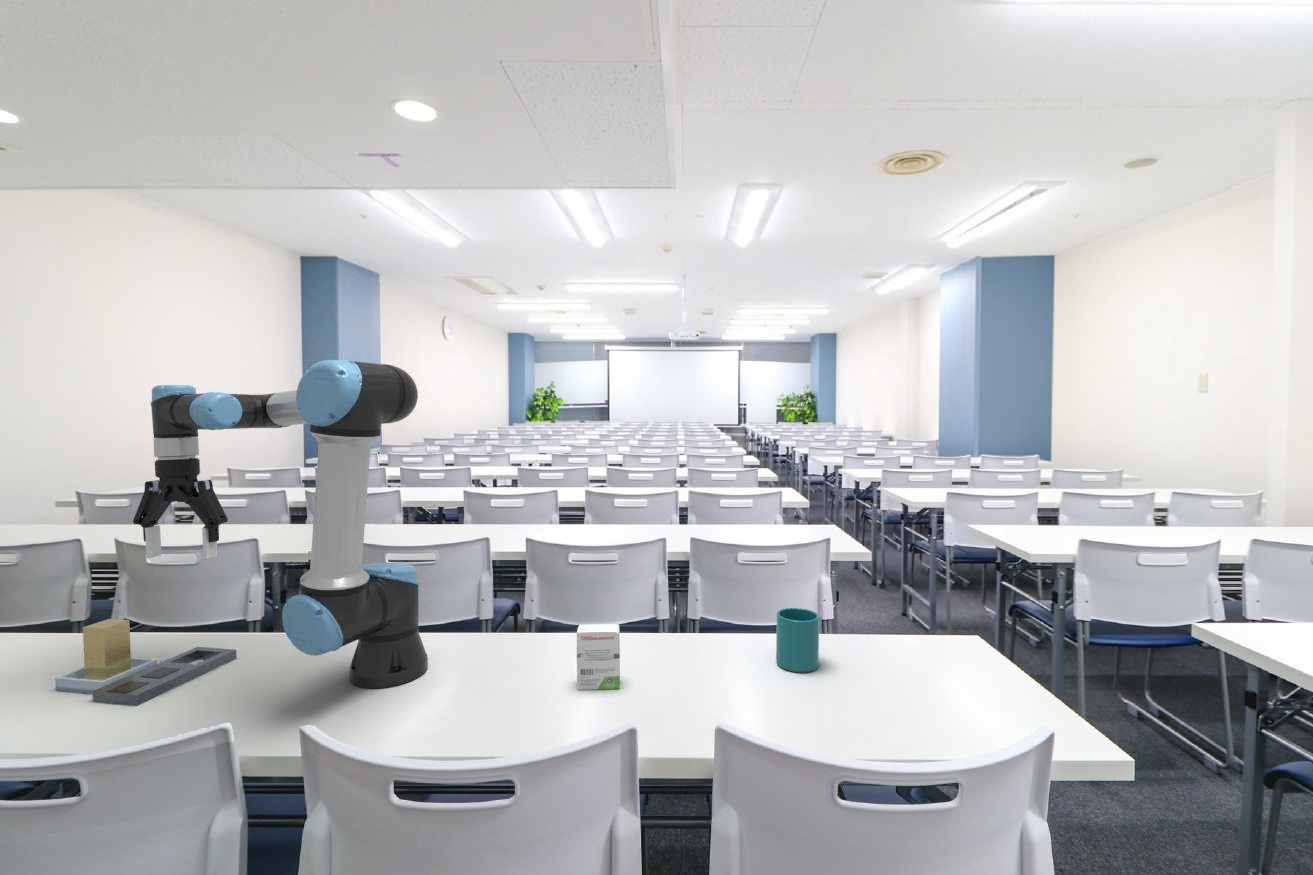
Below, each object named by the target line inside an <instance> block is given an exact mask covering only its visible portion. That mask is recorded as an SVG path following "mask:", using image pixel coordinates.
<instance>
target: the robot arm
mask: <svg viewBox="0 0 1313 875" xmlns="http://www.w3.org/2000/svg"><path fill="white" fill-rule="evenodd" d="M418 399H419V391H418V388H417V384H416V382H415V380H414V379H413V377H412V376H411V375H409V373H408V372H407V371H406V370H404V369H403V368H401V367H398V366H395V365H392V364H385V363H373V362H363V361H356V360H355V361H353V360H347V359H327V360H321V361H318V362H315V363H314V364H312V365H311V366H310V368H308V369H306V371H305V372H304V373H303V375H302V376H301V378H300V379H299V382H298V384H297V388H296V389H295V390H289V391H281V392H275V393H274V392H272V393H266V394H265V393H263V394H246V393H245V394H243V393H227V392H226V393H225V392H219V391H218V392H217V391H216V392H214V391H209V392H205V393H204V392H203V393H197V389H196V387H195V386H193V385H188V384H187V385H186V384H159V385H155V386H154V387H152V389H151V402H150V407H151V419H152V432H153V433H152V434H153V457H155V458H157V459H155V461H154V475H155V477H156V478H157V479H156V480H149V481H145V483H144V491H143V493H142V497H141V500H140V501H139V505H138V507H137V509H136V512H135V515H134V517H133V520H132V522H133V524H134V525H140V526H141V528H142V534H143V541H144V542H145V553H146V554H145V556H146V557H145V558H146V559H151V558H155V557H159V556H162V540H161V538H162V537H161V525H159V521H160V519H161V518H162V516H163V515H164V514H165V512H166V511H167V509H168V508H169V506H170V505H171V503H175V502H177V503H184V504H186V505H188V506H189V507H190V509H191V510H192V511H193V512H194V514H195V515H196V516H197V517H198V518H199V519H200V521H201V523H203V524H204V525H203V527H202V528H201V533H202V534H201V536H202V537H201V538H202V553H203V554H202V557H203V560H205V559H206V560H208V559H210V558H211V559H212V558H214V557H218V542H219V540H220V529H219V528H220V525H222V524H224V523H228V521H229V518H228V517H227V515H226V513H225V510H224V509H223V506H222V505H221V502H220V501H219V499H218V496H217V495H216V494H217V493H215V491H214V486H213V480H211V479H205V480H204V479H203V480H198V475H200V474H201V464H200V463H201V462H200V459H199V458H198V457H197V456H199V455H200V448H199V444H200V443H199V430H209V431H217V430H218V431H219V430H220V431H222V430H234V429H236V430H237V429H242V430H243V429H282V428H288V427H291V426H297V425H303V424H304V425H305V424H309V434H311V436H312V437H313V438H315V439H316V440H317V443H318V449H317V450H318V451H317V463H316V476H315V477H316V478H315V495H314V506H313V507H314V508H313V521H312V522H313V523H312V537H311V538H312V539H311V551H310V552H311V554H310V563H309V564H310V567H309V569H308V570H307V572H305V573H304V574H303V575H301V577H300V578H299V587H298V589H299V590H298V594H296V595H293V596H291V598H290V599H288V601H287V602H286V603H284V605H283V609H282V612H281V622H282V627H283V630H284V632H285V635H286V637H287V638H288V640H289V641H290V642H291V644H292V646H294V647H295V648H296V649H297V650H298V651H300V653H301V652H302V653H304V654H306V655H308V656H313V657H314V656H321V655H324V654H327V653H329V652H336V651H337V650H339V649H341V648H342V647H345V646H346V645H347V646H348V645H349V644H351V643H353V642H354V643H355V641H357V644H356V647H355V650H354V653H353V657H352V660H351V662H350V665H349V666H350V667H349V681H350V683H351V684H352V685H354V686H356V687H360V688H365V689H366V688H367V689H379V688H380V689H382V688H388V687H395V686H399V685H403V684H406V683H409V682H412V681H414V680H416V679H418V678H420V677H422V676H423V675H424V674H425V673H426V672H427V670H428V668H429V667H428V666H429V660H428V659H429V658H428V654H427V652H426V650H425V647H424V644H423V641H422V638H421V636H420V632H419V631H420V630H419V585H420V583H419V580H418V579H419V577H418V570H417V568H416V567H415V566H414V565H412V564H410V563H409V564H408V563H401V562H372V563H365V564H363V553H364V552H363V551H364V540H365V539H364V538H365V530H366V529H365V526H366V516H367V515H366V513H367V501H368V500H367V499H368V485H369V474H370V461H371V449H372V448H371V447H372V444H373V443H374V442H376V441H377V440H378V439H380V438H381V433H382V432H381V431H382V425H385V424H392V423H393V424H394V423H396V422H397V423H398V422H400V421H402V420H405V419H406V418H407V417H409V416H410V415H411V413H413V411H414V409H415V408H416V406H417V403H418ZM158 478H159V480H158Z"/></svg>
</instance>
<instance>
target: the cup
mask: <svg viewBox="0 0 1313 875" xmlns="http://www.w3.org/2000/svg"><path fill="white" fill-rule="evenodd" d="M775 635H776V642H775V643H776V645H775V648H776V649H775V653H776V654H775V661H776V663H777V665H778V667H780V668H782V669H783V670H785V671H789V672H793V673H801V674H802V673H810V672H813V671H815V670H816V669H818V666H819V663H820V661H819V658H820V657H819V655H820V654H819V653H820V652H819V651H820V650H819V648H820V616H819V614H818V613H817V612H815V611H814V610H810V609H808V608H807V609H806V608H800V607H787V608H786V607H785V608H782V609H779V610H778V611H777V612H776V634H775Z"/></svg>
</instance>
